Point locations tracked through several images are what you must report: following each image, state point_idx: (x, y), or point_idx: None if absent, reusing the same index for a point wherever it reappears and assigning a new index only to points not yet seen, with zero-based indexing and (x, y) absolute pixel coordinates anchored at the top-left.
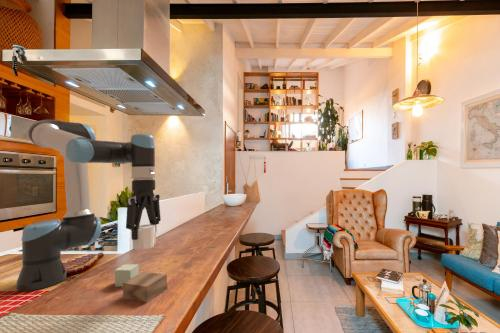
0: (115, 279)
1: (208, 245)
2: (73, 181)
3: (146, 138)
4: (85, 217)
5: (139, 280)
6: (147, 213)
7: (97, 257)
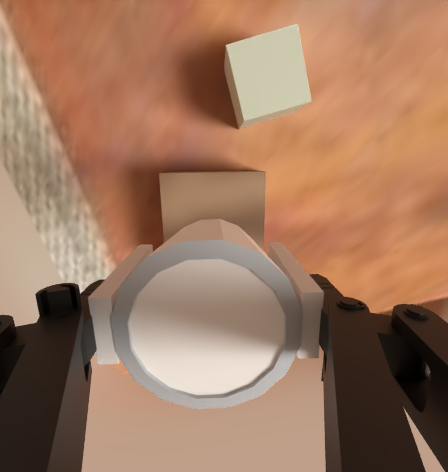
0: (225, 62)
1: None
2: None
3: None
4: None
5: (194, 215)
6: (334, 398)
7: None
